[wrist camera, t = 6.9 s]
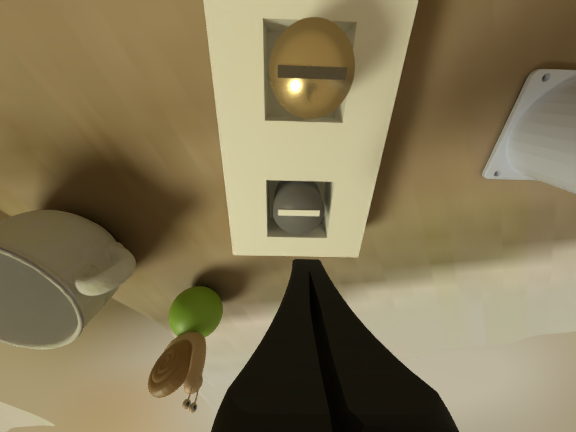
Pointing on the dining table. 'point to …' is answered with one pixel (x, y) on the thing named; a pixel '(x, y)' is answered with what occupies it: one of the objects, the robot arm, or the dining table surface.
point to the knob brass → (312, 67)
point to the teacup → (55, 276)
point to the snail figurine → (186, 343)
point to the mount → (303, 120)
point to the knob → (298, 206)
